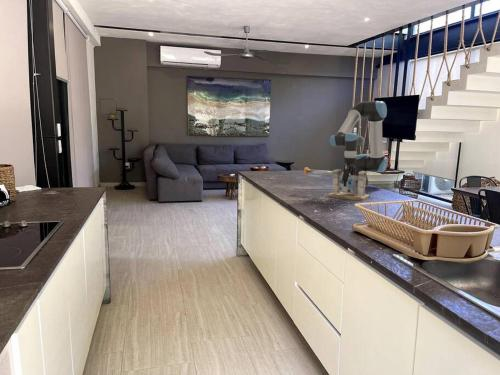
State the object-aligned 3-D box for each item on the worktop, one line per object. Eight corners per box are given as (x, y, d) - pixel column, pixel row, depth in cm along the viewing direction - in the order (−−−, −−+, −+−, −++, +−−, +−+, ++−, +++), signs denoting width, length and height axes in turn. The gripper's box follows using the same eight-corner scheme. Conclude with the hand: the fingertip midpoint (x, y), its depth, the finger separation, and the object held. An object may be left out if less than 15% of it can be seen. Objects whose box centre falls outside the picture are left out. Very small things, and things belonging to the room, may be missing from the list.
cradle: (335, 193, 262) (336, 168, 259) (369, 197, 249) (371, 170, 245) (327, 196, 251) (328, 170, 248) (362, 201, 237) (364, 173, 234)
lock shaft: (306, 173, 268) (306, 166, 267) (338, 176, 254) (338, 169, 253) (303, 174, 264) (303, 167, 263) (335, 177, 250) (335, 170, 249)
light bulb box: (343, 193, 245) (344, 176, 243) (338, 191, 251) (339, 175, 249) (358, 192, 247) (359, 176, 245) (353, 190, 254) (353, 174, 252)
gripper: (351, 155, 257) (349, 186, 261) (337, 158, 237) (336, 192, 241) (362, 156, 253) (360, 187, 256) (349, 159, 233) (347, 193, 237)
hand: (348, 189), depth 249 cm, fingers closed on light bulb box, 12 cm apart
